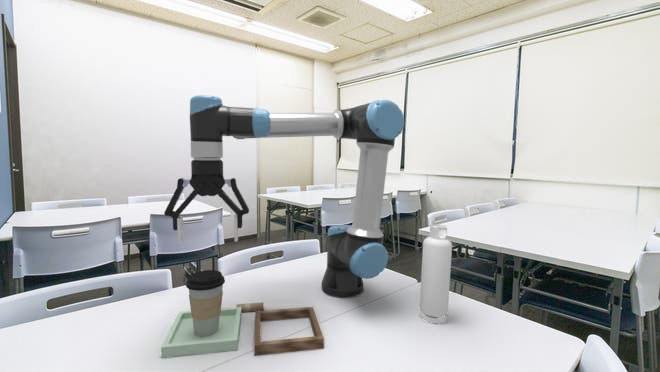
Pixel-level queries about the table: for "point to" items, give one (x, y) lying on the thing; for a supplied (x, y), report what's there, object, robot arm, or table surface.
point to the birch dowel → (251, 307)
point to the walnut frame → (287, 344)
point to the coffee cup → (205, 300)
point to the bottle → (435, 275)
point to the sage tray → (188, 343)
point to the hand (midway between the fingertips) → (209, 241)
